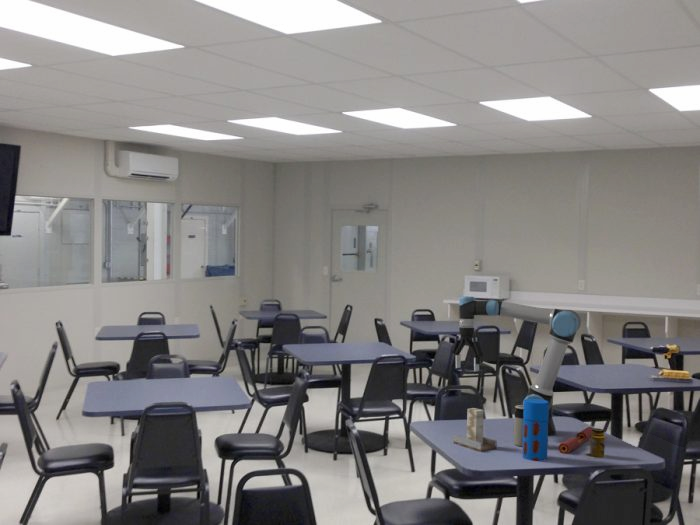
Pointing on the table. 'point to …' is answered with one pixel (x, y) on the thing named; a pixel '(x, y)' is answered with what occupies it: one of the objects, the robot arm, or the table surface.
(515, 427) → the travel mug
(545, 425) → the thermos
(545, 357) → the robot arm
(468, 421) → the pale wooden block
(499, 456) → the table surface
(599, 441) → the condiment
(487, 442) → the floor track
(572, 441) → the blood vessel
